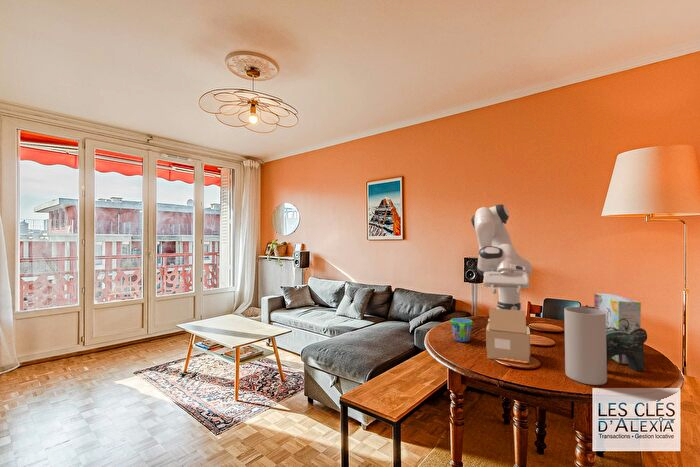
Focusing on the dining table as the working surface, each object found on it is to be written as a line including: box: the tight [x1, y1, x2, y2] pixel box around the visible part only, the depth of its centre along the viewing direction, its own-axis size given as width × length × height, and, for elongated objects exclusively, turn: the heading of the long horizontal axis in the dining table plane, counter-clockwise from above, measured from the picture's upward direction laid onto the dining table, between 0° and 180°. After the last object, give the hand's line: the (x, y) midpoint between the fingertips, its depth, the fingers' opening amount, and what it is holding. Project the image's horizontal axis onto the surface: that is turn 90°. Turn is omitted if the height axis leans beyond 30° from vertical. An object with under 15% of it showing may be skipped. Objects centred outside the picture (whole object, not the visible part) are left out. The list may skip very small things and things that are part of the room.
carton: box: [485, 322, 531, 363], centre depth 146 cm, size 15×17×12 cm
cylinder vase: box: [563, 306, 608, 386], centre depth 122 cm, size 12×12×25 cm
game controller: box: [606, 319, 648, 372], centre depth 129 cm, size 20×6×20 cm, turn 91°
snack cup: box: [450, 317, 474, 343], centre depth 168 cm, size 16×10×10 cm
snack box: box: [593, 292, 642, 365], centre depth 144 cm, size 22×9×26 cm, turn 166°
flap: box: [488, 307, 527, 333], centre depth 141 cm, size 9×14×1 cm
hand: (505, 293), depth 156 cm, fingers open, 8 cm apart
